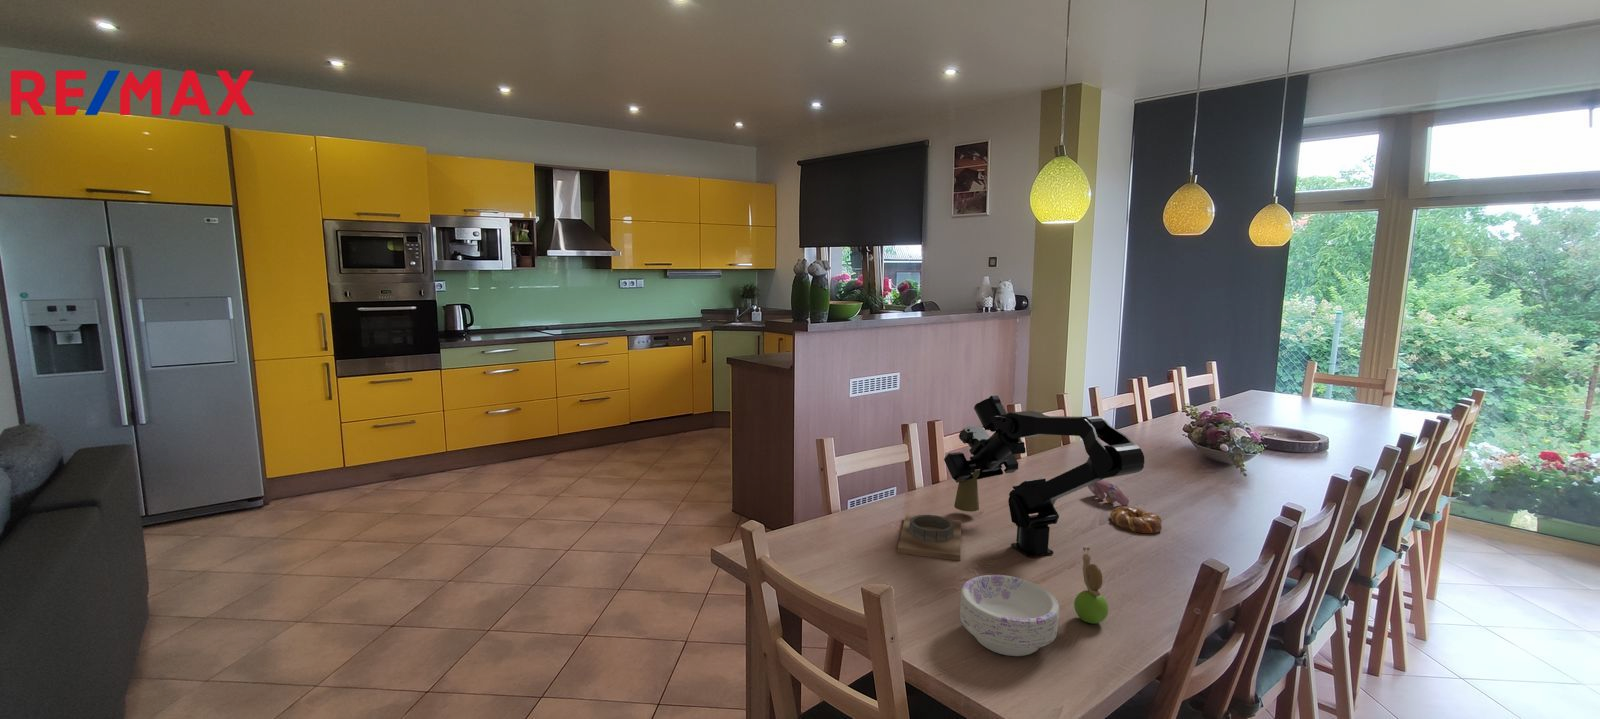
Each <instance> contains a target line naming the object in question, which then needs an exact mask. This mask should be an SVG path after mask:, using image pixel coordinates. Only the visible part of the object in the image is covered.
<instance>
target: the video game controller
mask: <svg viewBox="0 0 1600 719" xmlns="http://www.w3.org/2000/svg"><path fill="white" fill-rule="evenodd" d="M1087 488H1088V489H1089V491H1090V492H1092V494H1094V496H1096V498H1097V499H1098V500H1099V499H1100V501H1103V500H1104V499H1105V501H1106V502H1107V503H1108V504H1110V505H1113V504H1114V503H1116V502H1117V503H1118V504H1119V505H1121V506H1129V502H1130V500H1129V497H1127V495H1125V494H1124V493H1123V491H1122V490H1121V488H1119V486H1117V485H1114V484H1113V483H1111V482H1109V481H1108V480H1105V479H1103V480H1100V481H1098V482H1096V483H1093V484H1091V485H1089V486H1087ZM1105 494H1106V495H1105Z"/></svg>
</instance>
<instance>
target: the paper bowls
mask: <svg viewBox="0 0 1600 719" xmlns="http://www.w3.org/2000/svg"><path fill="white" fill-rule="evenodd" d="M960 590H961V591H960V605H959V606H960V608H959V610H960V611H959V620H960V622H961V623H962V626H963V627H964V628H965V630H967V631H968V632H969V633H970V634H971V635H972V636H974V638H975V639H976V640H977V642H978V643H979V644H980V645H982V646H983V647H985V648H986V649H988V650H990V651H992V652H994V653H997V654H999V655H1003V656H1010V657H1023V656H1028V655H1032V654H1034V653H1035V652H1037V651H1038V649H1040V648H1043V647H1045V646H1047V645H1049V644H1051V643H1052V642H1054V640H1055V639H1056V638H1057V634H1058V625H1059V615H1060V604H1059V602H1058V600H1057V598H1056V597H1055V596H1054V595H1053V594H1052V593H1051V592H1050V591H1049V590H1047V589H1046V588H1045V587H1043V586H1041V585H1039V584H1037V583H1035V582H1033V581H1030V580H1028V579H1025V578H1020V577H1018V576H1017V577H1016V576H1012V575H1006V574H1005V575H1003V574H985V575H979V576H976V577H972V578H970V579H968V580H967V581H966V582H964V584H963V585H962V588H961V589H960Z"/></svg>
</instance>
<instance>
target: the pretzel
mask: <svg viewBox="0 0 1600 719" xmlns="http://www.w3.org/2000/svg"><path fill="white" fill-rule="evenodd" d="M1109 516H1110V520H1111V522H1112V523H1113V524H1114V525H1115V526H1118V527H1120V528H1121V529H1122V530H1124V531H1130V532H1136V533H1139V534H1140V533H1141V534H1157V533H1159V532H1161V531H1162V528H1163V527H1162V523H1163V522H1162V519H1161V518H1162V517H1160V516H1159V515H1158V514H1157V513H1155V512H1147V511H1146V510H1145V509H1144V508H1140V507H1131V506H1129V505H1127V506H1123V505H1121V506H1117V507H1116V508H1113V509H1112V511H1111V512H1110V515H1109Z"/></svg>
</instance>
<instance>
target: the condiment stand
mask: <svg viewBox="0 0 1600 719" xmlns="http://www.w3.org/2000/svg"><path fill="white" fill-rule="evenodd" d="M903 520H904V522H903V525H902V529H901V533H900V537H899V541H898V544H897V553H898V554H905V555H914V556H920V557H927V558H928V557H929V558H935V559H943V560H952V561H959V562H961V553H962V552H961V550H962V549H961V548H962V546H961V543H962V541H961V540H962V520H958V519H950V518H946V517H944V516H940V515H935V514H934V515H933V514H919V515H913V514H905V516H904V519H903Z"/></svg>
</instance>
